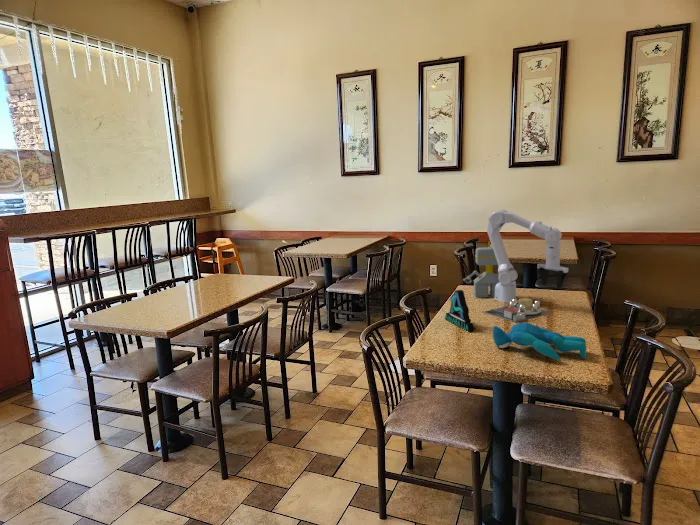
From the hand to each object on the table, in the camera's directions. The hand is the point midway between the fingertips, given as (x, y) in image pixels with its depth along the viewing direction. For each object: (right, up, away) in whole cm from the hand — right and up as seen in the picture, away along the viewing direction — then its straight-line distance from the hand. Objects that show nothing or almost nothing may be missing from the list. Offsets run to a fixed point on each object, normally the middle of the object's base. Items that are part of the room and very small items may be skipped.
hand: (551, 285), depth 206 cm
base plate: (-18, -12, -6) cm, 22 cm away
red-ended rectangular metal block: (-23, -13, -14) cm, 30 cm away
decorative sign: (-46, -16, -17) cm, 51 cm away
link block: (-14, -10, -5) cm, 17 cm away
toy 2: (-26, -21, -48) cm, 58 cm away
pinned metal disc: (-14, -12, -5) cm, 19 cm away
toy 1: (-20, -7, +27) cm, 34 cm away
